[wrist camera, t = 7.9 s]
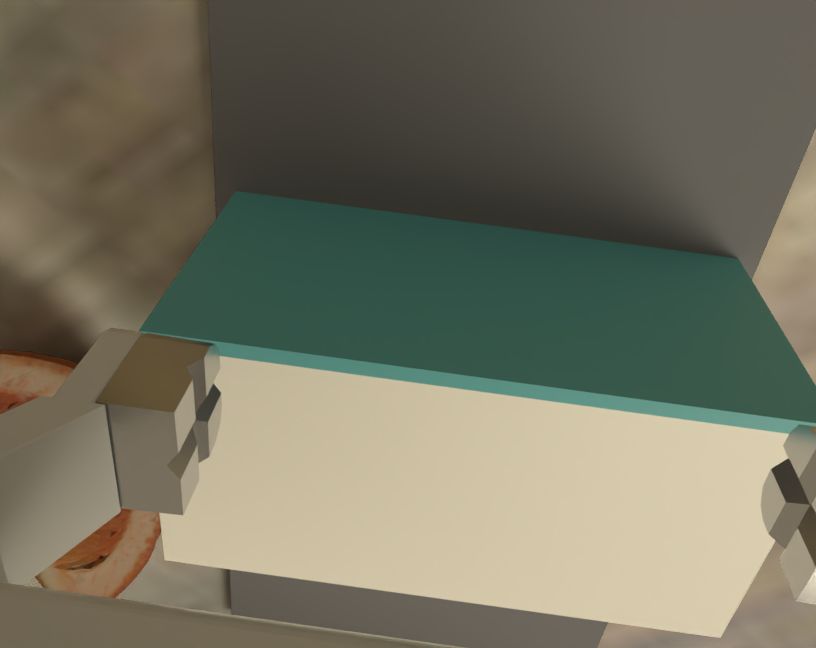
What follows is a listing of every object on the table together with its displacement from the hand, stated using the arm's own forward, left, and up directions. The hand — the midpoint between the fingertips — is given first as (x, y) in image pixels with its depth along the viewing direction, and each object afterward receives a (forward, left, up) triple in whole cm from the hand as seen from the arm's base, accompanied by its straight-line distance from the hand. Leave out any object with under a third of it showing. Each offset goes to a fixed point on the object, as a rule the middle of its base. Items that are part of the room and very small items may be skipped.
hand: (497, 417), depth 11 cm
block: (0, +1, -5) cm, 5 cm away
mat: (0, +6, -8) cm, 10 cm away
